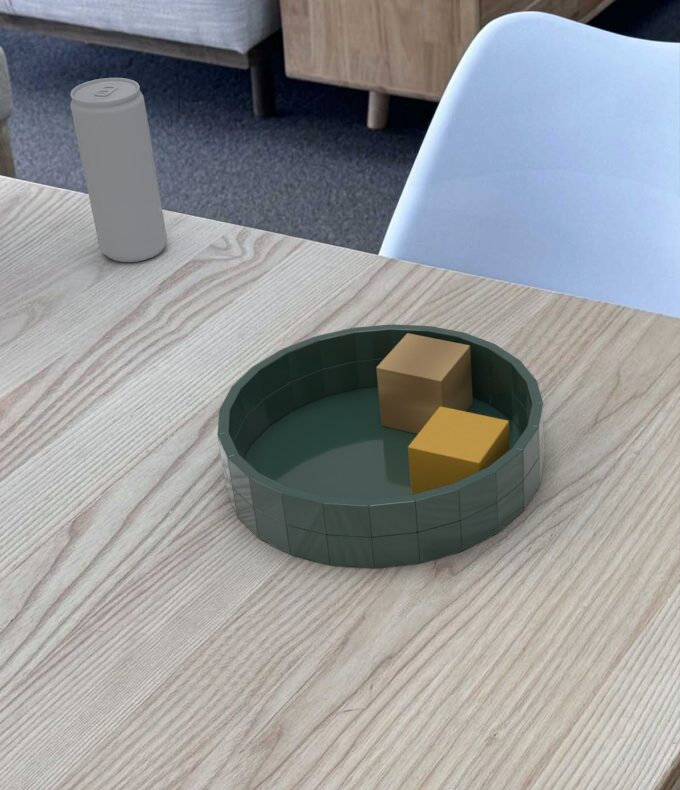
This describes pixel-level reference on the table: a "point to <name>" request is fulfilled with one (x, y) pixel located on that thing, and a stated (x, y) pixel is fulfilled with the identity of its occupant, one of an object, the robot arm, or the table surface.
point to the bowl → (368, 453)
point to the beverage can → (119, 168)
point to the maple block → (423, 381)
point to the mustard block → (455, 448)
